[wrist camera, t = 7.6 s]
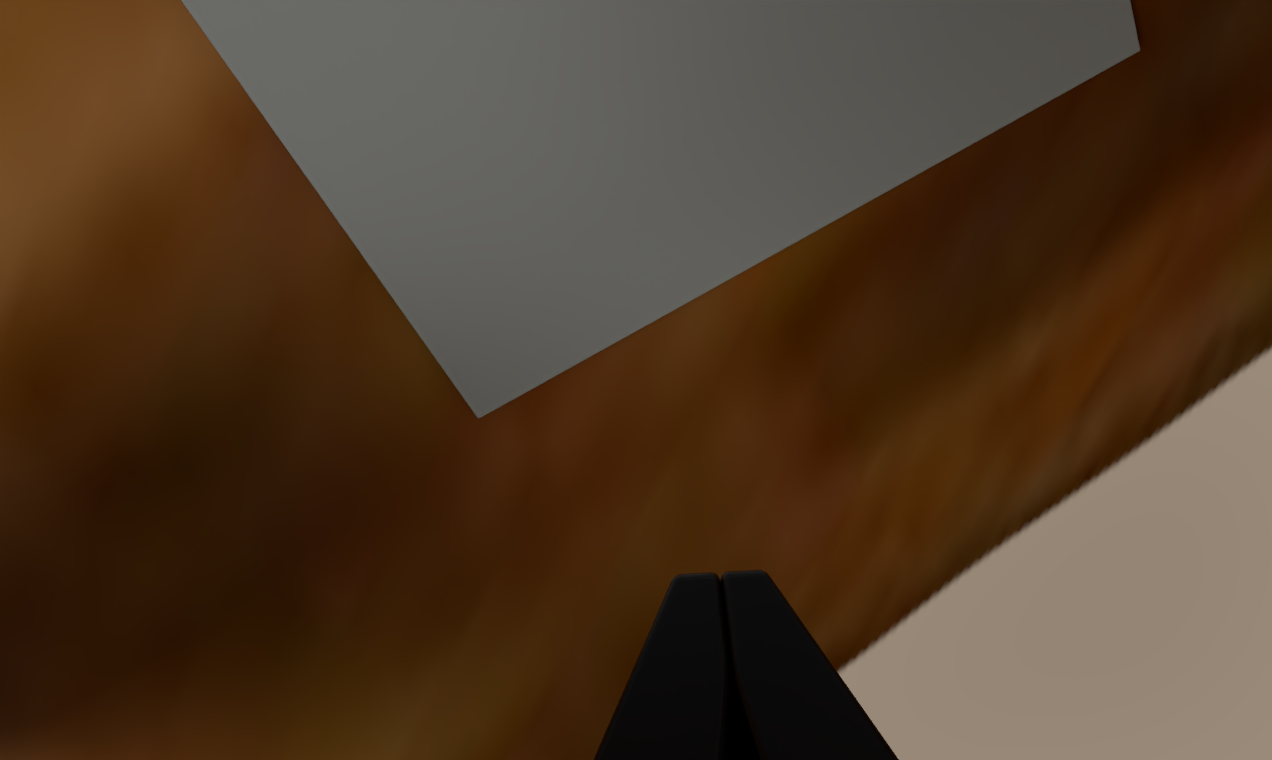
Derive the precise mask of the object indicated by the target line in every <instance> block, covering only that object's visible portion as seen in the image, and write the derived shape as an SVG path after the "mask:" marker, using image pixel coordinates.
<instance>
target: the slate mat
mask: <svg viewBox="0 0 1272 760" xmlns="http://www.w3.org/2000/svg"><path fill="white" fill-rule="evenodd" d="M181 1H182V2H183V3H184V5H185V6H186V8H187V9H188V10H189V12H190V13H191V15H192V16H193V17H194V19H195V20H196V22H197V23H198V25H199V26H200V27H201V29H202V30H203V32H204V33H205V34H206V36H207V37H208V39H209V40H210V41H211V43H212V44H213V46H214V47H215V48H216V50H217V51H218V53H219V54H220V56H221V57H222V58H223V60H224V61H225V63H226V64H227V65H228V67H229V68H230V70H231V71H232V72H233V74H234V75H235V77H236V78H237V79H238V81H239V82H240V84H241V85H242V87H243V88H244V89H245V91H246V92H247V94H248V95H249V96H250V98H251V99H252V101H253V102H254V103H255V105H256V106H257V108H258V109H259V110H260V112H261V113H262V115H263V116H264V118H265V119H266V120H267V122H268V123H269V125H270V126H271V127H272V129H273V130H274V132H275V133H276V134H277V136H278V137H279V139H280V140H281V141H282V143H283V144H284V146H285V147H286V149H287V150H288V151H289V153H290V154H291V156H292V157H293V158H294V160H295V161H296V163H297V164H298V165H299V167H300V168H301V170H302V171H303V172H304V174H305V175H306V177H307V178H308V180H309V181H310V182H311V184H312V185H313V187H314V188H315V189H316V191H317V192H318V194H319V195H320V196H321V198H322V199H323V201H324V202H325V203H326V205H327V206H328V208H329V209H330V211H331V212H332V213H333V215H334V216H335V218H336V219H337V220H338V222H339V223H340V225H341V226H342V227H343V229H344V230H345V232H346V233H347V234H348V236H349V237H350V239H351V240H352V242H353V243H354V244H355V246H356V247H357V249H358V250H359V251H360V253H361V254H362V256H363V257H364V258H365V260H366V261H367V263H368V264H369V265H370V267H371V268H372V270H373V271H374V273H375V274H376V275H377V277H378V278H379V280H380V281H381V282H382V284H383V285H384V287H385V288H386V289H387V291H388V292H389V294H390V295H391V296H392V298H393V299H394V301H395V302H396V303H397V305H398V306H399V308H400V309H401V311H402V312H403V313H404V315H405V316H406V318H407V319H408V320H409V322H410V323H411V325H412V326H413V327H414V329H415V330H416V332H417V333H418V334H419V336H420V337H421V339H422V340H423V342H424V343H425V344H426V346H427V347H428V349H429V350H430V351H431V353H432V354H433V356H434V357H435V358H436V360H437V361H438V363H439V364H440V365H441V367H442V368H443V370H444V371H445V373H446V374H447V375H448V377H449V378H450V380H451V381H452V382H453V384H454V385H455V387H456V388H457V389H458V391H459V392H460V394H461V395H462V396H463V398H464V399H465V401H466V402H467V404H468V405H469V406H470V408H471V409H472V411H473V412H474V413H475V415H476V416H477V418H478V419H479V418H481V417H483V416H484V415H486V414H488V413H490V412H492V411H493V410H495V409H497V408H499V407H501V406H502V405H504V404H506V403H508V402H510V401H511V400H513V399H515V398H517V397H519V396H520V395H522V394H524V393H526V392H528V391H529V390H531V389H533V388H535V387H537V386H538V385H540V384H542V383H544V382H545V381H547V380H549V379H551V378H553V377H554V376H556V375H558V374H560V373H562V372H563V371H565V370H567V369H569V368H571V367H572V366H574V365H576V364H578V363H580V362H581V361H583V360H585V359H587V358H589V357H590V356H592V355H594V354H596V353H598V352H599V351H601V350H603V349H605V348H607V347H608V346H610V345H612V344H614V343H616V342H617V341H619V340H621V339H623V338H625V337H626V336H628V335H630V334H632V333H634V332H635V331H637V330H639V329H641V328H643V327H644V326H646V325H648V324H650V323H652V322H653V321H655V320H657V319H659V318H661V317H662V316H664V315H666V314H668V313H669V312H671V311H673V310H675V309H677V308H678V307H680V306H682V305H684V304H686V303H687V302H689V301H691V300H693V299H695V298H696V297H698V296H700V295H702V294H704V293H705V292H707V291H709V290H711V289H713V288H714V287H716V286H718V285H720V284H722V283H723V282H725V281H727V280H729V279H731V278H732V277H734V276H736V275H738V274H740V273H741V272H743V271H745V270H747V269H749V268H750V267H752V266H754V265H756V264H758V263H759V262H761V261H763V260H765V259H767V258H768V257H770V256H772V255H774V254H776V253H777V252H779V251H781V250H783V249H784V248H786V247H788V246H790V245H792V244H793V243H795V242H797V241H799V240H801V239H802V238H804V237H806V236H808V235H810V234H811V233H813V232H815V231H817V230H819V229H820V228H822V227H824V226H826V225H828V224H829V223H831V222H833V221H835V220H837V219H838V218H840V217H842V216H844V215H846V214H847V213H849V212H851V211H853V210H855V209H856V208H858V207H860V206H862V205H864V204H865V203H867V202H869V201H871V200H873V199H874V198H876V197H878V196H880V195H882V194H883V193H885V192H887V191H889V190H891V189H892V188H894V187H896V186H898V185H899V184H901V183H903V182H905V181H907V180H908V179H910V178H912V177H914V176H916V175H917V174H919V173H921V172H923V171H925V170H926V169H928V168H930V167H932V166H934V165H935V164H937V163H939V162H941V161H943V160H944V159H946V158H948V157H950V156H952V155H953V154H955V153H957V152H959V151H961V150H962V149H964V148H966V147H968V146H970V145H971V144H973V143H975V142H977V141H979V140H980V139H982V138H984V137H986V136H988V135H989V134H991V133H993V132H995V131H997V130H998V129H1000V128H1002V127H1004V126H1006V125H1007V124H1009V123H1011V122H1013V121H1015V120H1016V119H1018V118H1020V117H1022V116H1023V115H1025V114H1027V113H1029V112H1031V111H1032V110H1034V109H1036V108H1038V107H1040V106H1041V105H1043V104H1045V103H1047V102H1049V101H1050V100H1052V99H1054V98H1056V97H1058V96H1059V95H1061V94H1063V93H1065V92H1067V91H1068V90H1070V89H1072V88H1074V87H1076V86H1077V85H1079V84H1081V83H1083V82H1085V81H1086V80H1088V79H1090V78H1092V77H1094V76H1095V75H1097V74H1099V73H1101V72H1103V71H1104V70H1106V69H1108V68H1110V67H1112V66H1113V65H1115V64H1117V63H1119V62H1121V61H1122V60H1124V59H1126V58H1128V57H1130V56H1131V55H1133V54H1135V53H1137V52H1138V51H1140V47H1139V42H1138V37H1137V32H1136V27H1135V22H1134V17H1133V12H1132V7H1131V2H1130V0H181Z"/></svg>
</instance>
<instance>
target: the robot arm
mask: <svg viewBox="0 0 1272 760" xmlns="http://www.w3.org/2000/svg"><path fill="white" fill-rule="evenodd" d="M594 760H899V759H898V758H897V757H896V755H895V754H894V752H893V751H892V750H891V748H890V747H889V745H888V744H887V742H886V741H885V740H884V738H883V737H882V735H881V734H880V732H879V731H878V730H877V728H876V727H875V725H874V724H873V723H872V721H871V720H870V718H869V717H868V715H867V714H866V713H865V711H864V710H863V708H862V707H861V705H860V704H859V703H858V701H857V700H856V698H855V697H854V695H853V694H852V693H851V691H850V690H849V688H848V687H847V685H846V684H845V683H844V681H843V680H842V678H841V677H840V675H839V674H838V673H837V671H836V670H835V668H834V667H833V665H832V664H831V663H830V661H829V660H828V658H827V657H826V655H825V654H824V653H823V651H822V650H821V648H820V647H819V646H818V644H817V643H816V641H815V640H814V638H813V637H812V636H811V634H810V633H809V631H808V630H807V628H806V627H805V626H804V624H803V623H802V621H801V620H800V618H799V617H798V616H797V614H796V613H795V611H794V610H793V609H792V607H791V606H790V604H789V603H788V601H787V600H786V599H785V597H784V596H783V594H782V593H781V591H780V590H779V589H778V587H777V586H776V584H775V583H774V581H773V580H772V579H771V577H770V576H769V575H768V574H767V573H766V572H764V571H762V570H747V571H729V572H725V573H724V574H723V575H722V576H721V580H720V579H719V577H718V575H717V574H715V573H711V572H710V573H692V574H679V575H677V576H675V577H674V579H673V580H672V581H671V583H670V586H669V588H668V590H667V593H666V595H665V597H664V599H663V602H662V604H661V606H660V609H659V611H658V613H657V615H656V618H655V620H654V622H653V625H652V627H651V629H650V631H649V634H648V636H647V638H646V641H645V643H644V645H643V648H642V650H641V652H640V654H639V657H638V659H637V661H636V664H635V666H634V668H633V670H632V673H631V675H630V677H629V680H628V682H627V684H626V686H625V689H624V691H623V693H622V696H621V698H620V700H619V702H618V705H617V707H616V709H615V712H614V714H613V716H612V718H611V721H610V723H609V725H608V728H607V730H606V732H605V735H604V737H603V739H602V741H601V744H600V746H599V748H598V751H597V753H596V755H595V757H594Z"/></svg>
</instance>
